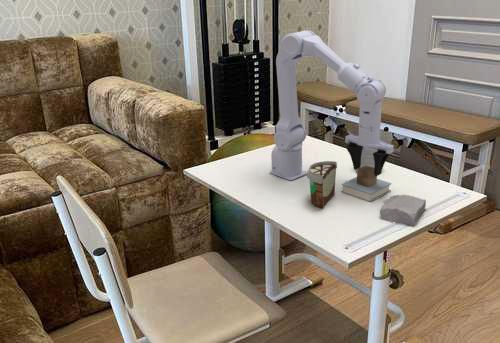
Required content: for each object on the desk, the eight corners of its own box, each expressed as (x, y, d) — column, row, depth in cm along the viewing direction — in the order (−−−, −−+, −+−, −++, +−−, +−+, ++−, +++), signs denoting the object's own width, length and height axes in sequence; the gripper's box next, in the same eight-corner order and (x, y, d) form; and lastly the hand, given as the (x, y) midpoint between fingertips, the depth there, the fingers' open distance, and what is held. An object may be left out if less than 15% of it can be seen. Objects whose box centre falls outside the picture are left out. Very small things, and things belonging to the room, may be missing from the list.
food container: (315, 190, 145) (316, 158, 142) (336, 193, 142) (337, 161, 139) (299, 207, 135) (299, 173, 131) (321, 211, 132) (322, 176, 129)
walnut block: (356, 183, 142) (357, 169, 141) (364, 179, 145) (365, 165, 143) (368, 187, 139) (369, 172, 138) (376, 183, 142) (377, 168, 140)
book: (341, 192, 143) (341, 184, 142) (361, 181, 150) (362, 174, 149) (370, 202, 136) (371, 193, 135) (390, 191, 143) (391, 183, 142)
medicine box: (379, 168, 160) (381, 142, 156) (382, 173, 155) (383, 147, 152) (354, 168, 160) (356, 142, 157) (356, 173, 156) (357, 147, 153)
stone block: (377, 226, 128) (417, 227, 122) (375, 208, 126) (414, 209, 121) (391, 209, 137) (428, 210, 132) (389, 193, 136) (426, 193, 130)
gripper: (401, 127, 133) (397, 174, 138) (356, 117, 143) (354, 161, 148) (386, 133, 129) (383, 181, 134) (341, 123, 139) (339, 168, 144)
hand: (367, 171), depth 141 cm, fingers open, 6 cm apart
